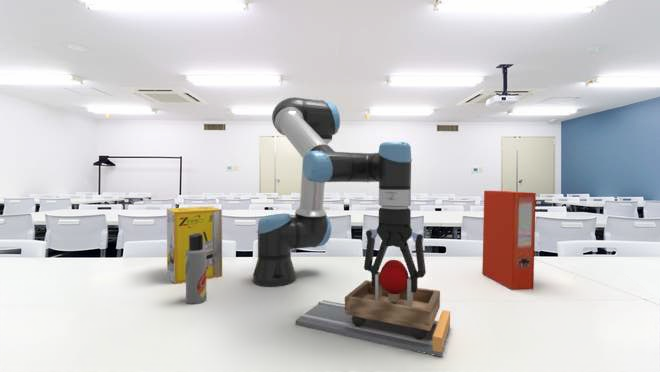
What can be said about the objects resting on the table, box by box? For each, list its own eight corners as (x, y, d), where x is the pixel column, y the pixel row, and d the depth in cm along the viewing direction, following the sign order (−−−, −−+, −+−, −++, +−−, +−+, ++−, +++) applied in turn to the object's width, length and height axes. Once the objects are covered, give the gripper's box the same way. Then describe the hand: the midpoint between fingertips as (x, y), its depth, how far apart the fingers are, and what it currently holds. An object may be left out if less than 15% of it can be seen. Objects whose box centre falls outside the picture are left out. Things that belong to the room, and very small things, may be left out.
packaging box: (222, 276, 124) (221, 209, 123) (174, 284, 115) (174, 211, 114) (210, 266, 137) (210, 206, 137) (167, 273, 128) (166, 208, 127)
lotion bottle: (210, 298, 101) (210, 233, 100) (197, 305, 95) (196, 236, 95) (195, 296, 103) (194, 232, 102) (181, 303, 97) (181, 234, 97)
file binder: (502, 274, 127) (503, 190, 126) (534, 289, 110) (535, 192, 109) (482, 274, 126) (483, 190, 126) (511, 289, 109) (512, 192, 108)
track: (295, 324, 83) (295, 308, 83) (323, 303, 97) (323, 290, 97) (441, 357, 68) (441, 337, 68) (450, 327, 82) (450, 311, 82)
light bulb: (409, 312, 75) (409, 268, 75) (378, 309, 76) (378, 266, 76) (408, 297, 84) (408, 258, 84) (380, 295, 85) (380, 256, 85)
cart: (344, 326, 78) (344, 297, 78) (365, 305, 91) (365, 280, 91) (430, 345, 69) (430, 311, 69) (439, 318, 82) (439, 290, 82)
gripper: (349, 206, 80) (349, 300, 81) (435, 210, 72) (434, 315, 72) (360, 204, 87) (360, 291, 88) (440, 207, 78) (439, 304, 79)
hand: (393, 302), depth 80 cm, fingers closed on light bulb, 7 cm apart
